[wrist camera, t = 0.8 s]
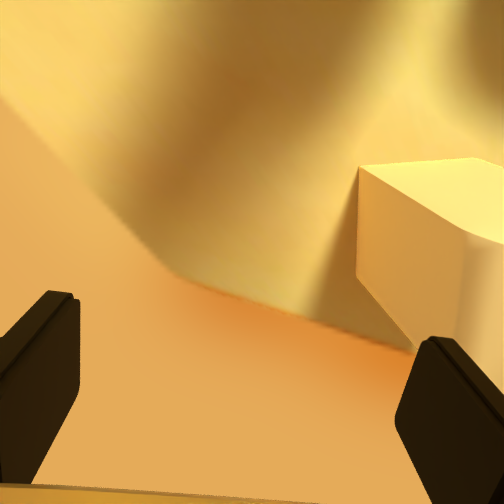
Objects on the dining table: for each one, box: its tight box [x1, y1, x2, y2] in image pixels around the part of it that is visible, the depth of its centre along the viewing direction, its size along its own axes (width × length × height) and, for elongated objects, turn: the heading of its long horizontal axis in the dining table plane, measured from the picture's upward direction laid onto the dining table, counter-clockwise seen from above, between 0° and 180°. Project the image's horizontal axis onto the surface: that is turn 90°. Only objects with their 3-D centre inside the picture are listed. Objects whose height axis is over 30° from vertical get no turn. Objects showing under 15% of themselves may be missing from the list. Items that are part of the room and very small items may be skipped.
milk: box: [356, 157, 504, 394], centre depth 30 cm, size 12×12×26 cm
